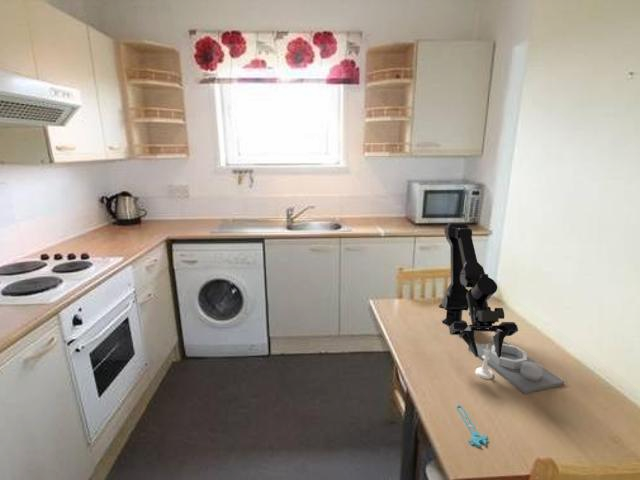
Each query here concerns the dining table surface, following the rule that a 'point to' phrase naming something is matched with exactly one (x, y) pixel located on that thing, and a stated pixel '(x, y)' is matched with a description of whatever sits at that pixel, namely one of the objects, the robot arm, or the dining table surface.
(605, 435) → the dining table surface
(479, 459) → the dining table surface
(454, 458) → the dining table surface
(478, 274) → the robot arm
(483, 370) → the chess piece
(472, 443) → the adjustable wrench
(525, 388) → the carrier plate
